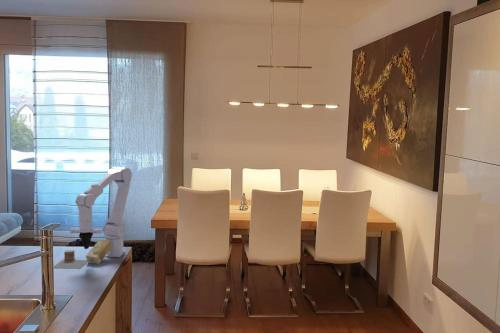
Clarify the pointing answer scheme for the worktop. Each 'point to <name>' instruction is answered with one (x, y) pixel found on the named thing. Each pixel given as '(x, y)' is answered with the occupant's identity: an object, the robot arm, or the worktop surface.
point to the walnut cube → (69, 255)
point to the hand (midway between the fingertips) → (86, 248)
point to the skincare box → (99, 251)
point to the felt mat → (71, 264)
